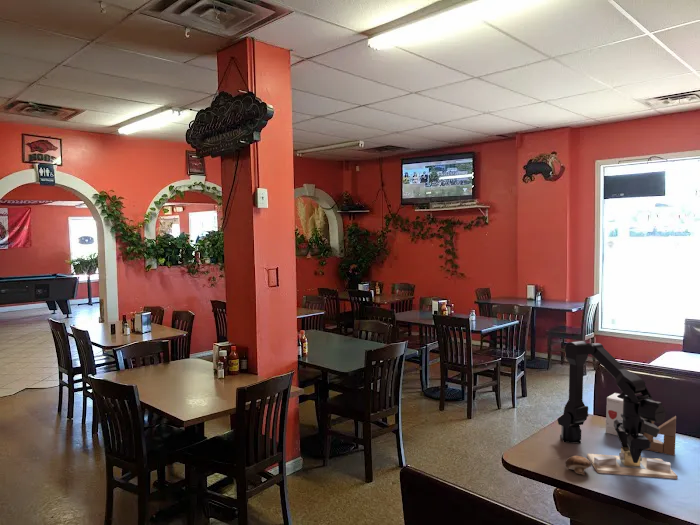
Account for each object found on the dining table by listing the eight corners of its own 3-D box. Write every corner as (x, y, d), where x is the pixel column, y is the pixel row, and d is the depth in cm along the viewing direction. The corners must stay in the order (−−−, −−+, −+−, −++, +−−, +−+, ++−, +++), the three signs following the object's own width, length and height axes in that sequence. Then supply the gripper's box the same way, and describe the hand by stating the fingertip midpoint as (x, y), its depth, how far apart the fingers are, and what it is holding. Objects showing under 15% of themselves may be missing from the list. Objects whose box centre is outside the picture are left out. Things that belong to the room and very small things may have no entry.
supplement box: (604, 432, 211) (605, 396, 210) (613, 426, 217) (614, 392, 216) (628, 439, 204) (629, 402, 203) (636, 433, 211) (637, 397, 210)
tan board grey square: (597, 472, 176) (597, 463, 176) (587, 456, 189) (587, 447, 189) (677, 478, 172) (677, 469, 172) (661, 461, 185) (661, 452, 185)
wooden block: (674, 456, 189) (676, 408, 188) (641, 449, 195) (642, 402, 194) (674, 452, 192) (676, 405, 191) (642, 445, 198) (643, 400, 197)
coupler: (638, 462, 182) (638, 448, 182) (642, 467, 178) (643, 453, 178) (618, 460, 183) (618, 446, 183) (622, 465, 179) (622, 451, 179)
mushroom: (589, 472, 170) (584, 452, 174) (564, 475, 174) (560, 456, 178) (596, 475, 175) (591, 456, 179) (572, 478, 179) (568, 460, 183)
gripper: (668, 425, 169) (666, 471, 170) (646, 405, 187) (645, 447, 188) (632, 422, 171) (630, 468, 172) (613, 404, 189) (612, 445, 190)
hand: (630, 456), depth 180 cm, fingers open, 9 cm apart
